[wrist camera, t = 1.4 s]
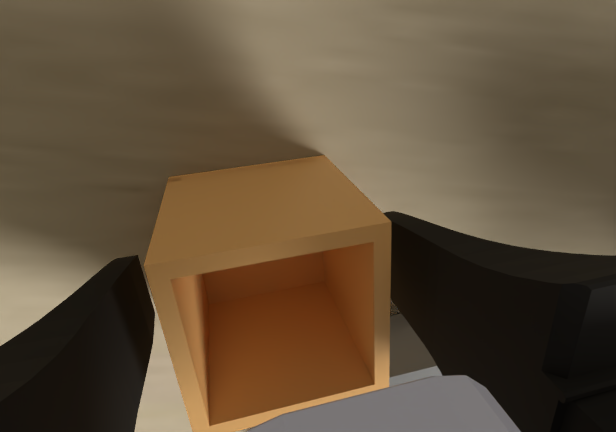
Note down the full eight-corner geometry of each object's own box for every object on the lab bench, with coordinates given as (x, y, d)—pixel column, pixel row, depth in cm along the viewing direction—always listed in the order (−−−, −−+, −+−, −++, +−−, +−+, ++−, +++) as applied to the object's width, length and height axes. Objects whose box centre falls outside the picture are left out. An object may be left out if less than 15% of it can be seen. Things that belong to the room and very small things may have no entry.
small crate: (323, 154, 13) (391, 221, 8) (330, 279, 15) (389, 391, 10) (169, 175, 12) (143, 265, 7) (199, 305, 14) (195, 441, 10)
